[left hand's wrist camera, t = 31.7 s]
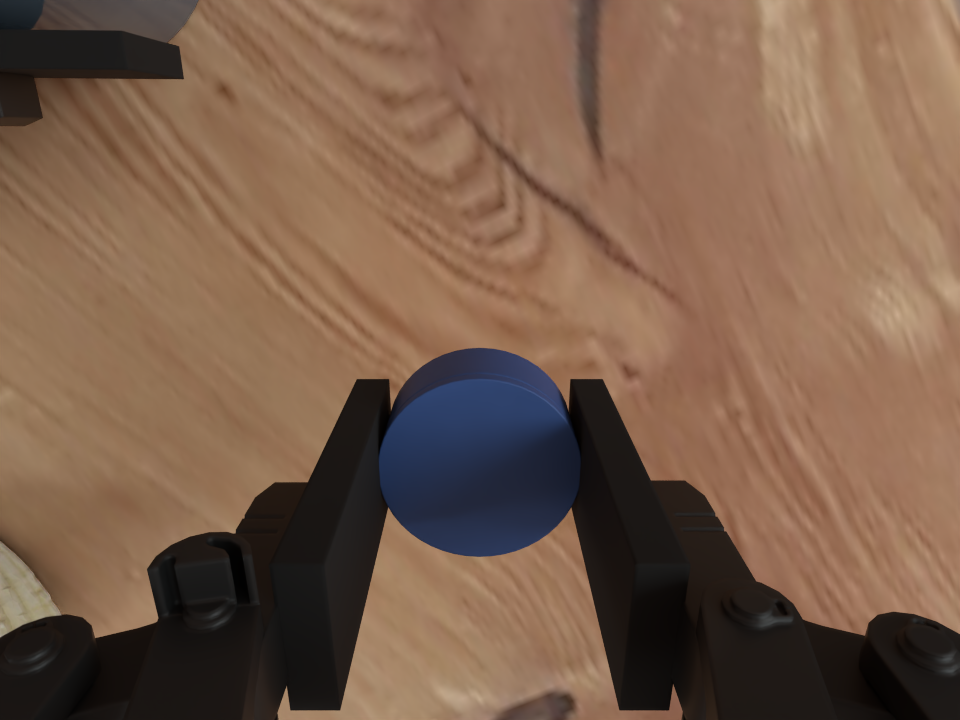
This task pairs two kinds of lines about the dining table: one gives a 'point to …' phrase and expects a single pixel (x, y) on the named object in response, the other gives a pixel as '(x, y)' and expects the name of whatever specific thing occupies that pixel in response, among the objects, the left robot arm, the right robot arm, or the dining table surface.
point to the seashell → (21, 594)
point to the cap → (479, 454)
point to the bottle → (99, 16)
